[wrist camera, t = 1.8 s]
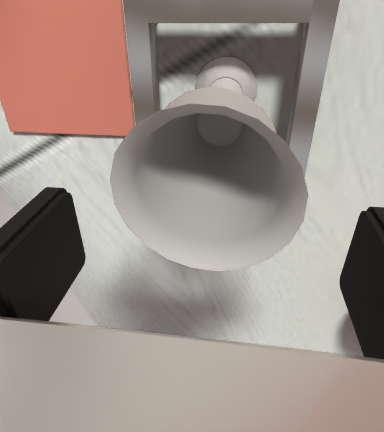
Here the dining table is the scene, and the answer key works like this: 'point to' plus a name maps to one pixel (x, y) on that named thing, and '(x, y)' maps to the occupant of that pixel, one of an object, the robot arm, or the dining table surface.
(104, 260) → the dining table surface
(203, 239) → the chalice
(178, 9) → the ring stand
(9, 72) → the coaster
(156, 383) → the robot arm
